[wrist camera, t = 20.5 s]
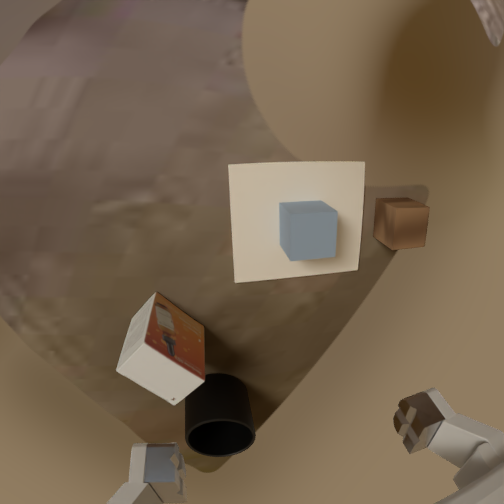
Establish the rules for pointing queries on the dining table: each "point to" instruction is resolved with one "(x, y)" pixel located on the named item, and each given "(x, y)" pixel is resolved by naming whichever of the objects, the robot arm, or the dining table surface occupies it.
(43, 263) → the dining table surface
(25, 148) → the dining table surface
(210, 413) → the mug
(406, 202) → the block
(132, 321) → the small box
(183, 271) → the dining table surface
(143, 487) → the robot arm
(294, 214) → the cube
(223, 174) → the dining table surface
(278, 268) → the cream flat square panel
